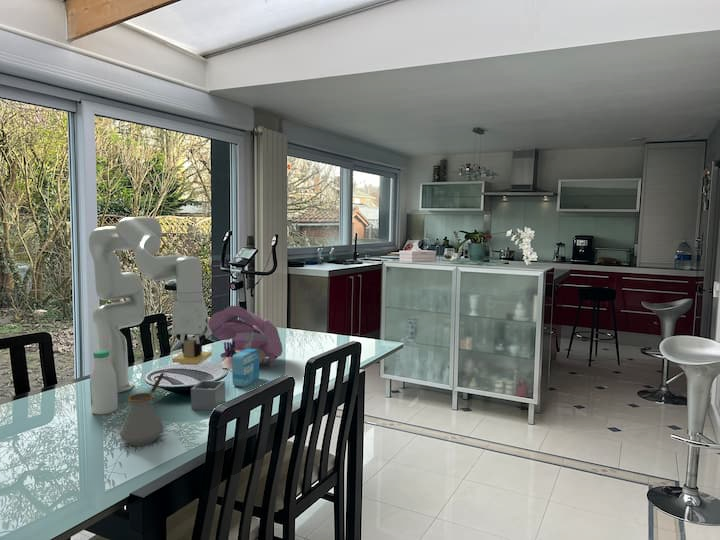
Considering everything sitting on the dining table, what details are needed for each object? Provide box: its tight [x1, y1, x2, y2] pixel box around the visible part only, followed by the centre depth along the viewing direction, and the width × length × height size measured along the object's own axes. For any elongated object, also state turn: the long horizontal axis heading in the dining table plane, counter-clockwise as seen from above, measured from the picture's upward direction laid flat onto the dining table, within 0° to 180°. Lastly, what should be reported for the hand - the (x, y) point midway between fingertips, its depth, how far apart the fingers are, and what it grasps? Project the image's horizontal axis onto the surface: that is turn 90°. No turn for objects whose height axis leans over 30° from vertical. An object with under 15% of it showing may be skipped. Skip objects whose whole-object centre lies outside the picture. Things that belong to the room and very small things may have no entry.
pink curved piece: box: [208, 305, 283, 372], centre depth 217 cm, size 35×24×28 cm
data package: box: [231, 348, 260, 388], centre depth 195 cm, size 12×4×12 cm, turn 161°
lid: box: [171, 336, 213, 366], centre depth 159 cm, size 9×9×7 cm
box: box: [190, 380, 226, 411], centre depth 173 cm, size 8×8×7 cm
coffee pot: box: [119, 372, 168, 447], centre depth 151 cm, size 21×12×15 cm, turn 177°
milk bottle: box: [89, 350, 119, 415], centre depth 167 cm, size 8×8×20 cm
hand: (192, 354), depth 160 cm, fingers closed on lid, 3 cm apart
